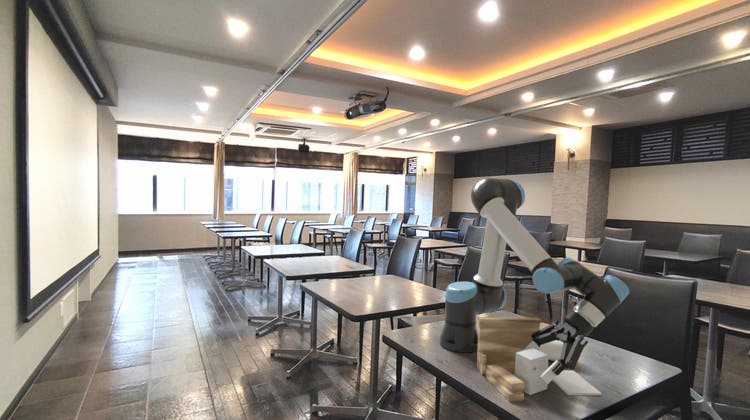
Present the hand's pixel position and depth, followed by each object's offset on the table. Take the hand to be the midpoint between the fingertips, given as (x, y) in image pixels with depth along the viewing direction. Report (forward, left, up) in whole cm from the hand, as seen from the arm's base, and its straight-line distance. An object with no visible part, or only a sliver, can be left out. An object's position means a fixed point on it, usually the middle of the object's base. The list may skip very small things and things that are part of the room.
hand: (531, 368), depth 107 cm
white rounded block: (-22, +19, -6) cm, 29 cm away
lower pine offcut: (-1, -8, -7) cm, 10 cm away
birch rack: (-11, -2, -6) cm, 13 cm away
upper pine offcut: (-1, -8, -4) cm, 9 cm away
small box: (-1, 0, -6) cm, 6 cm away
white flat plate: (-4, +14, -6) cm, 16 cm away
